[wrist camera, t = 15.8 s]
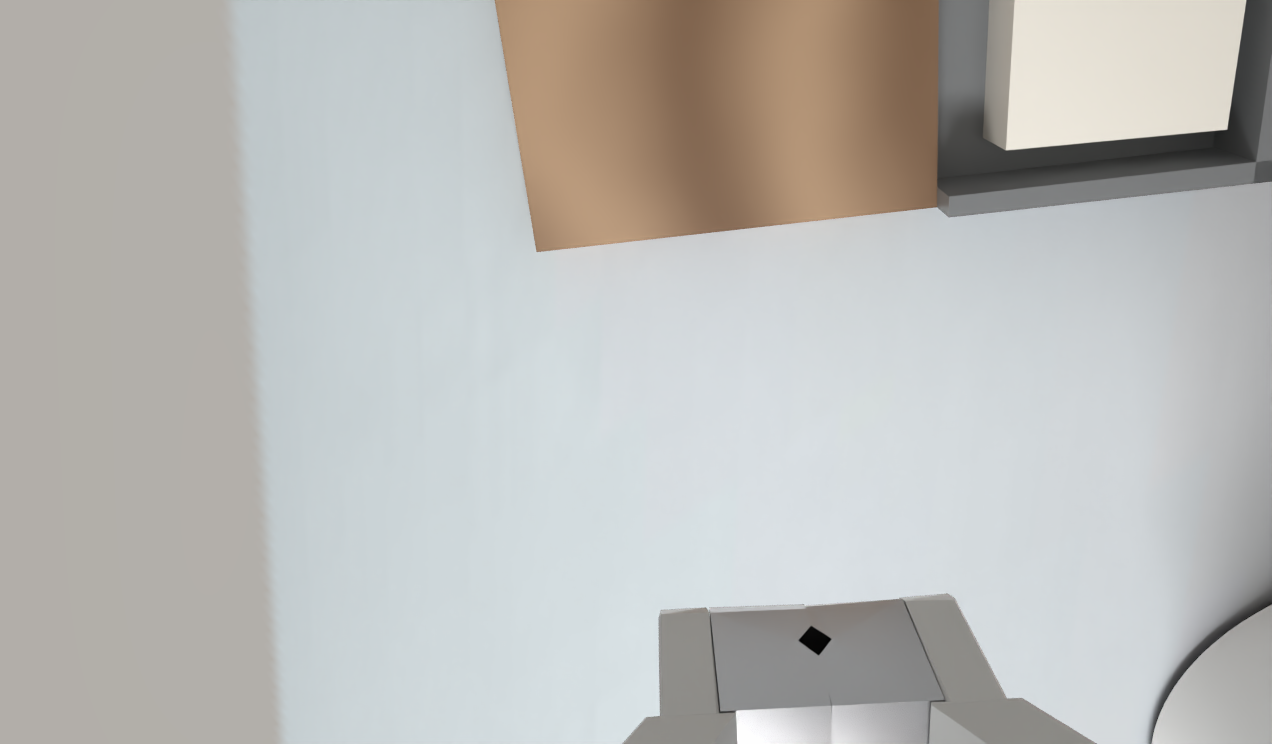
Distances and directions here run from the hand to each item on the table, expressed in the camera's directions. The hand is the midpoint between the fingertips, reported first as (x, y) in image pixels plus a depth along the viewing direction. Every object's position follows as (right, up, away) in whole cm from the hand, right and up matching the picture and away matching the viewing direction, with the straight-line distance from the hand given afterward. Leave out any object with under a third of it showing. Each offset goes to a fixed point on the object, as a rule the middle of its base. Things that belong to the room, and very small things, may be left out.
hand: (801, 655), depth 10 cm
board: (0, +14, +17) cm, 22 cm away
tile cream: (+11, +12, +17) cm, 24 cm away
